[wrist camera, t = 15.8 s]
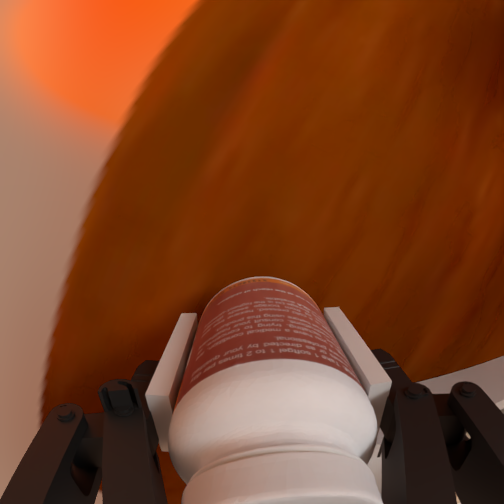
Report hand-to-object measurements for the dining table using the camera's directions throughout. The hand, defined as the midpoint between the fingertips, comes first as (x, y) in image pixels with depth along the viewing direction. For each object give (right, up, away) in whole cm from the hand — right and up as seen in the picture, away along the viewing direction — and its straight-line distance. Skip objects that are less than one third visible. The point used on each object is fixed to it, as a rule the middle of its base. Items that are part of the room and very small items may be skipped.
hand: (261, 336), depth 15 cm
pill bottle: (0, 0, 0) cm, 1 cm away
